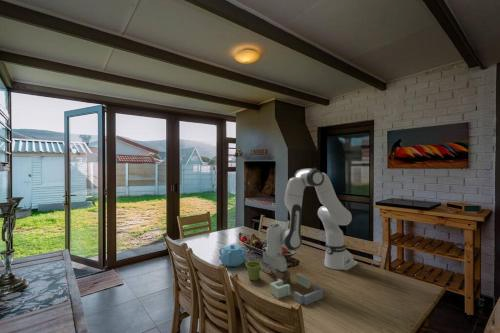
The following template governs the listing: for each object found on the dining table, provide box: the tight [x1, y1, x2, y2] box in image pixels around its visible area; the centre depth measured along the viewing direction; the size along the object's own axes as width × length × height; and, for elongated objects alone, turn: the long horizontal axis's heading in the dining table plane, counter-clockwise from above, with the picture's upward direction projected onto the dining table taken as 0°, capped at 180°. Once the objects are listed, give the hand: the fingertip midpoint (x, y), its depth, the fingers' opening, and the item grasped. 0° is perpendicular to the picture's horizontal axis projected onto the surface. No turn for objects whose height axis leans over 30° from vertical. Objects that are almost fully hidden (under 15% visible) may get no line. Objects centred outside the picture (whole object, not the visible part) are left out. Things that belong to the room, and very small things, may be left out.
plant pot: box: [245, 260, 262, 281], centre depth 150 cm, size 9×9×9 cm
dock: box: [293, 284, 324, 306], centre depth 125 cm, size 15×6×4 cm, turn 120°
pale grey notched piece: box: [269, 272, 311, 299], centre depth 135 cm, size 21×9×5 cm, turn 120°
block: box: [275, 269, 291, 285], centre depth 144 cm, size 6×6×6 cm
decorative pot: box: [218, 243, 247, 268], centre depth 172 cm, size 16×16×14 cm
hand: (274, 273), depth 151 cm, fingers closed
